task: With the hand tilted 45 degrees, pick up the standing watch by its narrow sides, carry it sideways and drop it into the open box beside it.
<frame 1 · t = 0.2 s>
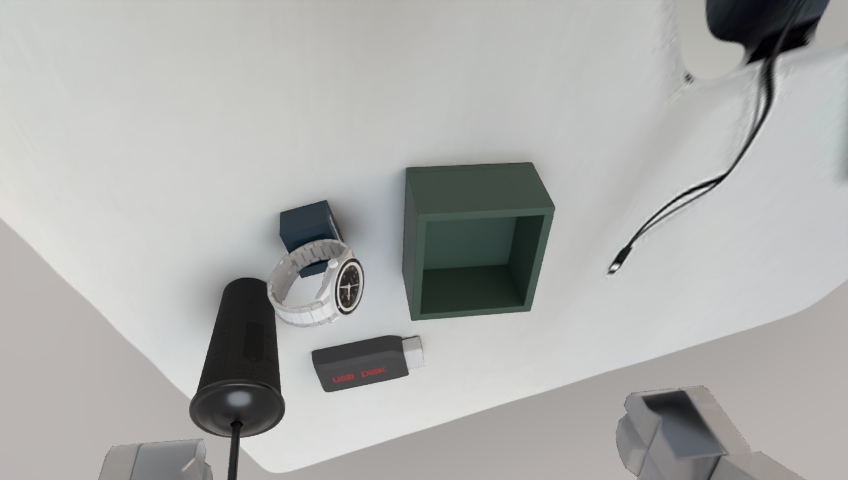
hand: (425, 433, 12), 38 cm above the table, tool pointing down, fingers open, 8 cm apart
usb drive: (369, 353, 70), on the table
drinking cup: (248, 293, 61), on the table
open box: (463, 219, 59), on the table
watch: (314, 226, 57), on the table
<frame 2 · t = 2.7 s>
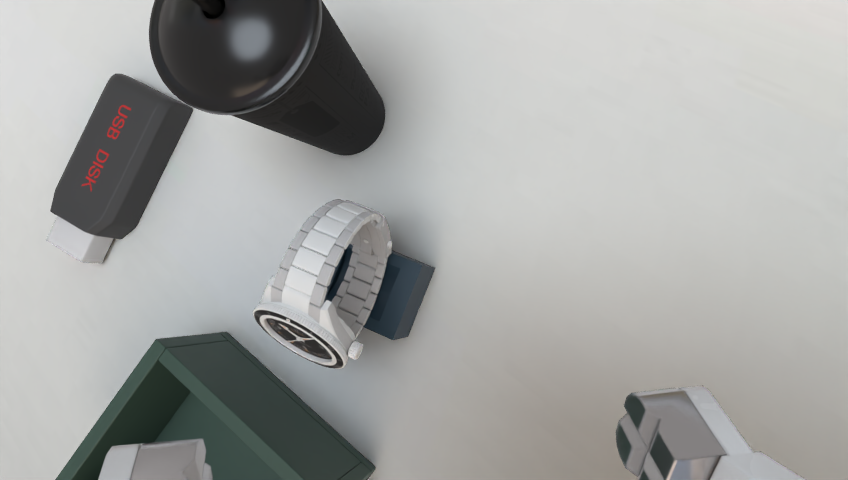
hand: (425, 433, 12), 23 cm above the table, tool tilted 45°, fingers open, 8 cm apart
usb drive: (127, 174, 42), on the table
drinking cup: (349, 117, 38), on the table
open box: (243, 470, 37), on the table
watch: (381, 286, 37), on the table
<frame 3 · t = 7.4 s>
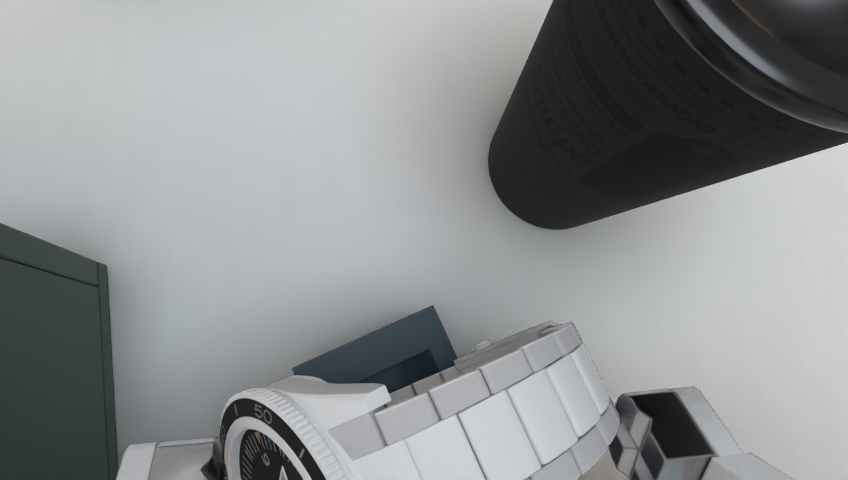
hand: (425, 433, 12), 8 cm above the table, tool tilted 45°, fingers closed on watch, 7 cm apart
drinking cup: (551, 166, 23), on the table
watch: (392, 423, 20), on the table, touching gripper
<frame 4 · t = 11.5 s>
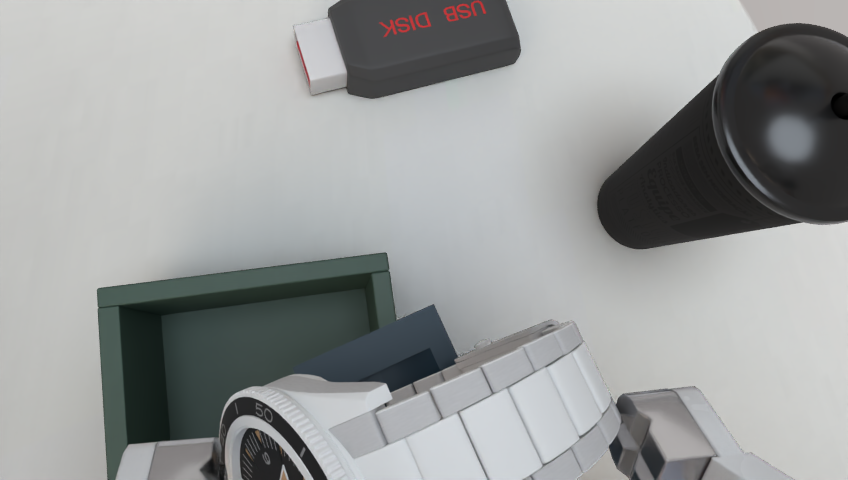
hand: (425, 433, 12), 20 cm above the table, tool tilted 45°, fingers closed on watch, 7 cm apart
usb drive: (405, 48, 35), on the table
drinking cup: (635, 208, 36), on the table
open box: (278, 411, 31), on the table
watch: (393, 422, 20), point 12 cm above the table, touching gripper
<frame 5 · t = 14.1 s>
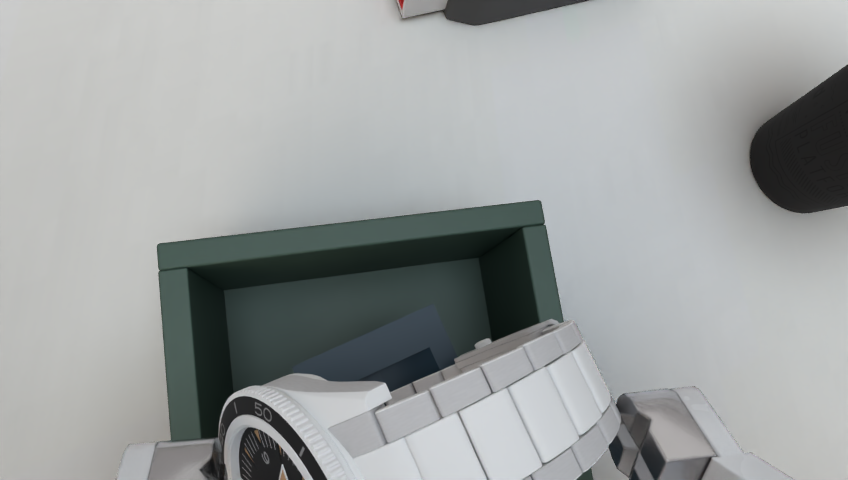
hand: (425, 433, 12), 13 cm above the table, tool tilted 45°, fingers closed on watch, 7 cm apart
drinking cup: (794, 164, 29), on the table
open box: (372, 414, 24), on the table
watch: (392, 422, 20), point 4 cm above the table, touching gripper
when the fingers open (9 cm above the table, at t = 15.9 s): watch stays where it is, resting on open box.
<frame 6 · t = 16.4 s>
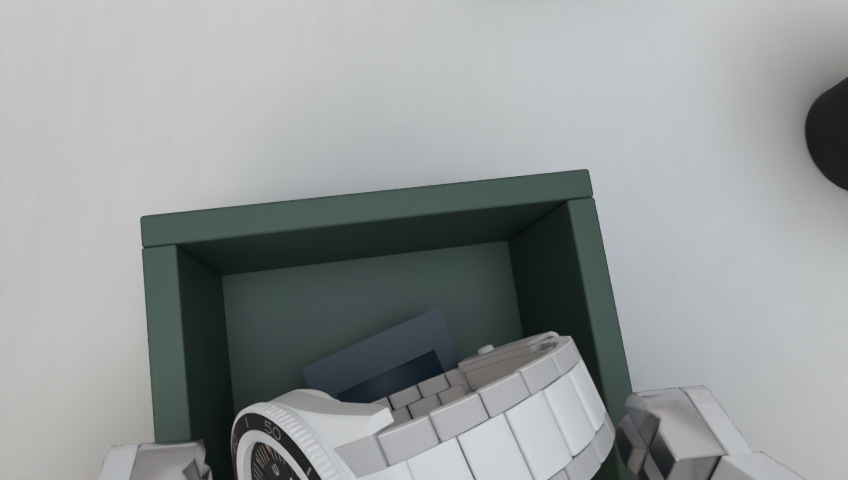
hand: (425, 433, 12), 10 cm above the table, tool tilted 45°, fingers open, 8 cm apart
open box: (389, 416, 21), on the table
watch: (399, 417, 21), point 1 cm above the table, touching gripper, open box
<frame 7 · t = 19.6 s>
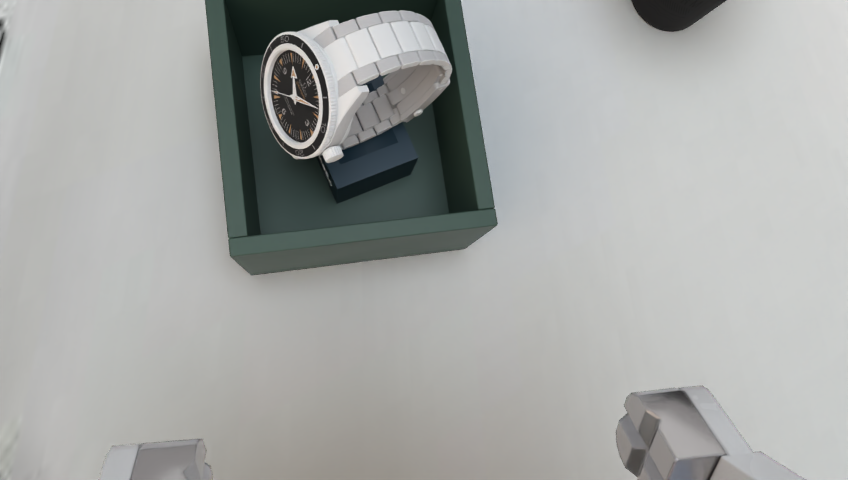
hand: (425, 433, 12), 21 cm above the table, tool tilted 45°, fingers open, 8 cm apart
open box: (346, 149, 34), on the table
watch: (352, 145, 33), point 1 cm above the table, touching open box
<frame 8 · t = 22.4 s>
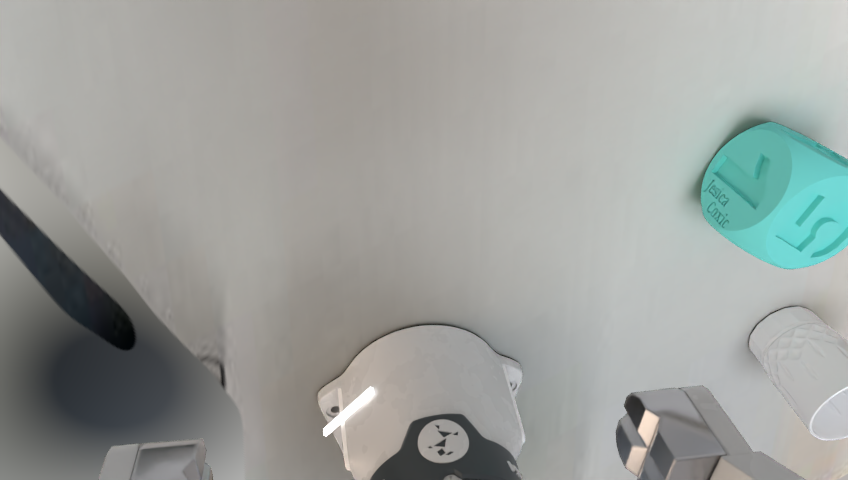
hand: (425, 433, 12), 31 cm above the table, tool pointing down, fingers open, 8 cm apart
decorative dice: (748, 168, 49), on the table
white cup: (779, 330, 61), on the table
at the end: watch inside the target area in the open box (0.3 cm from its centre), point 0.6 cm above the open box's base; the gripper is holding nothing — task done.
